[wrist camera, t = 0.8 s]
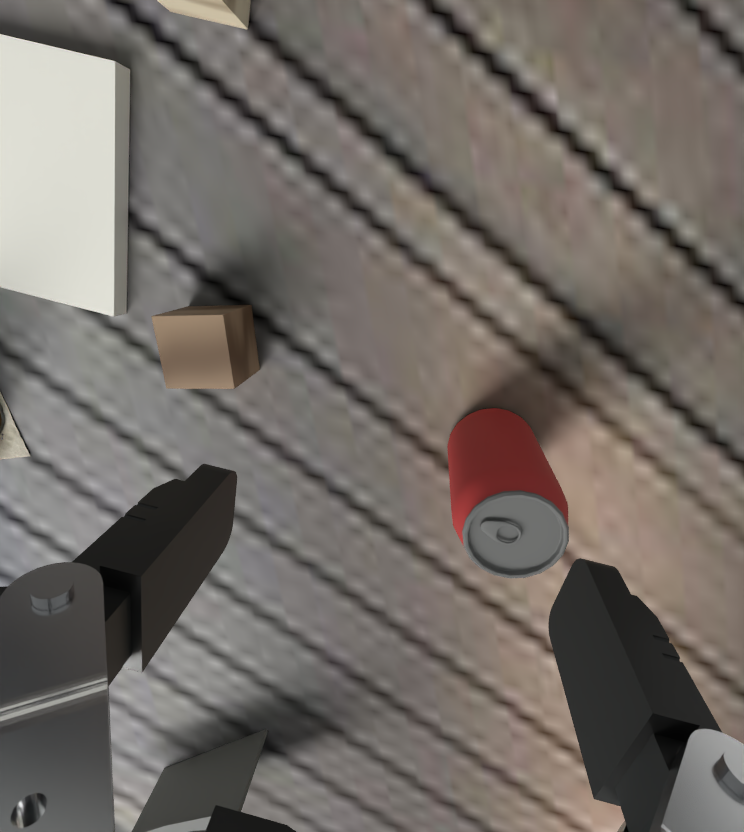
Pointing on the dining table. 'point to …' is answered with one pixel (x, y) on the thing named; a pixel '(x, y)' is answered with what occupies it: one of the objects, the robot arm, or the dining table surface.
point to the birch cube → (213, 10)
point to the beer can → (505, 495)
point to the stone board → (64, 175)
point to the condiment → (10, 435)
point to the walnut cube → (207, 346)
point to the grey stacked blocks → (202, 787)
